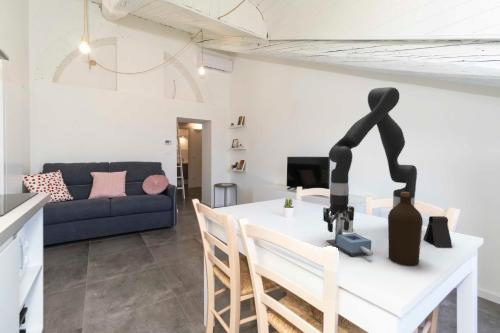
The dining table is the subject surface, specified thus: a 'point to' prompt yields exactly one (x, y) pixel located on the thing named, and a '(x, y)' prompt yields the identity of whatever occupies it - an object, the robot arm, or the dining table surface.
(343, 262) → the dining table surface
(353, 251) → the block
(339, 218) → the chuck key
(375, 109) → the robot arm
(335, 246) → the rubber pad
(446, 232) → the black folding stand
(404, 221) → the olive oil
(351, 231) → the medicine bottle
